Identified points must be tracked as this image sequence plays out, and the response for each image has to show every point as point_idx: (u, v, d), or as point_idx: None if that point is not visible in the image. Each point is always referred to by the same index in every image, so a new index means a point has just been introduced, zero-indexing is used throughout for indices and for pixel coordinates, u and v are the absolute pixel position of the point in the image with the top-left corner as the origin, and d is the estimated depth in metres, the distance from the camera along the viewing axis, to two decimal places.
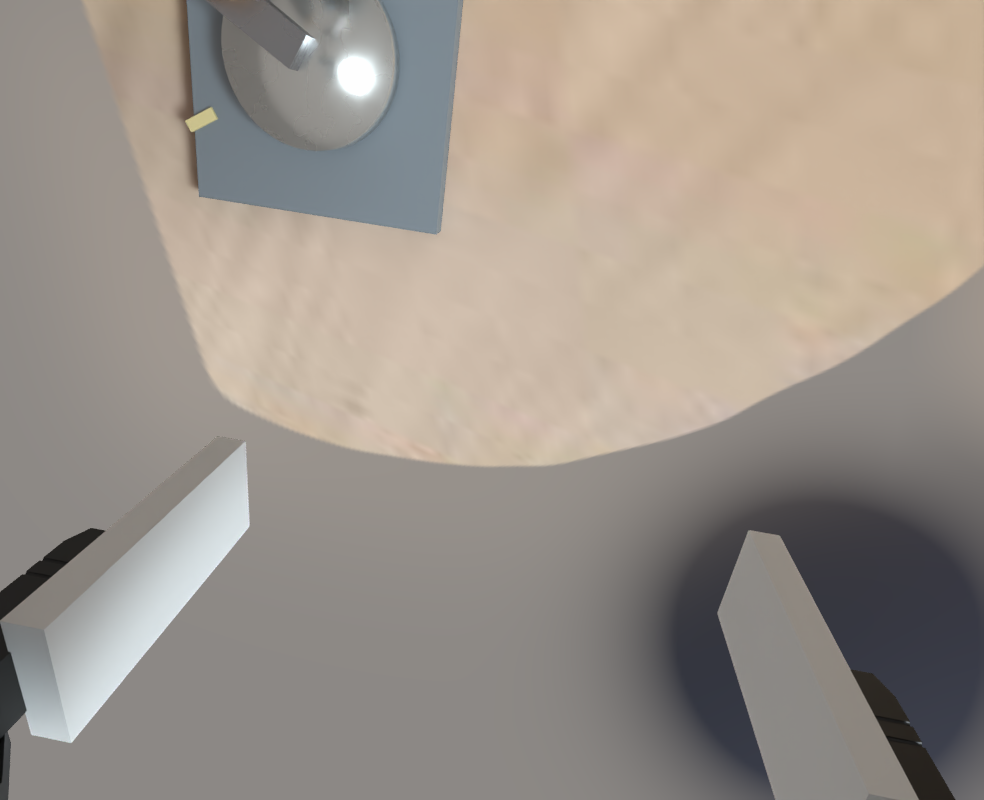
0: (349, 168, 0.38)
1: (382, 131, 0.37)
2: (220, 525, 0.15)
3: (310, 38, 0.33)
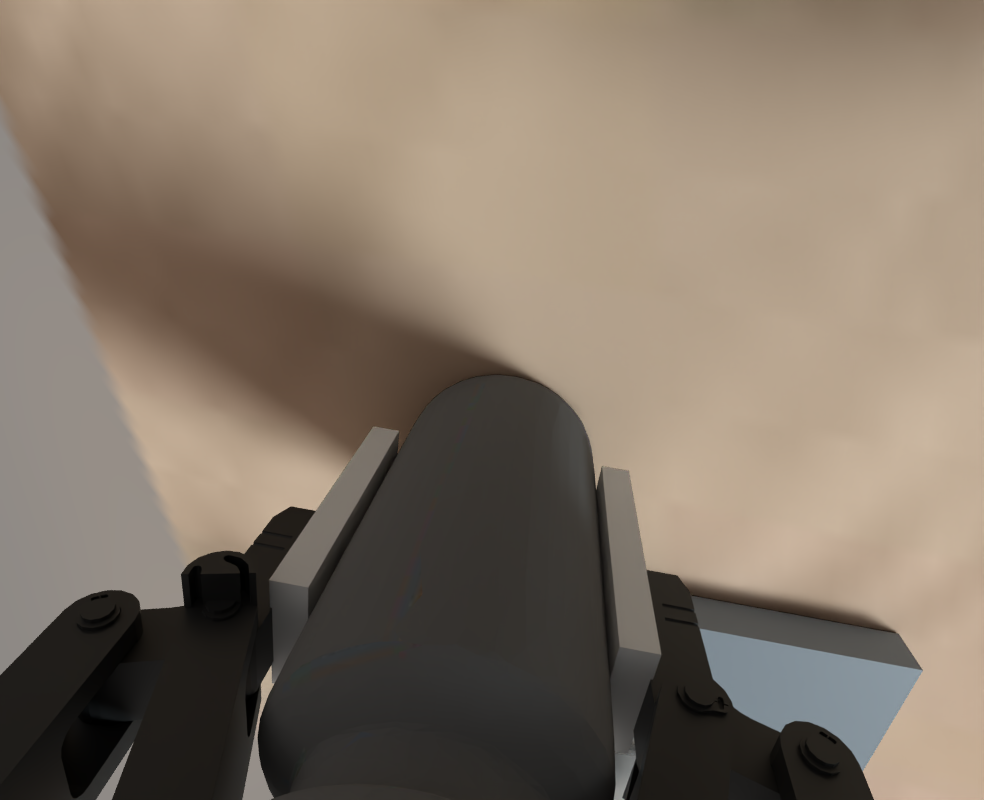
0: None
1: None
2: None
3: None
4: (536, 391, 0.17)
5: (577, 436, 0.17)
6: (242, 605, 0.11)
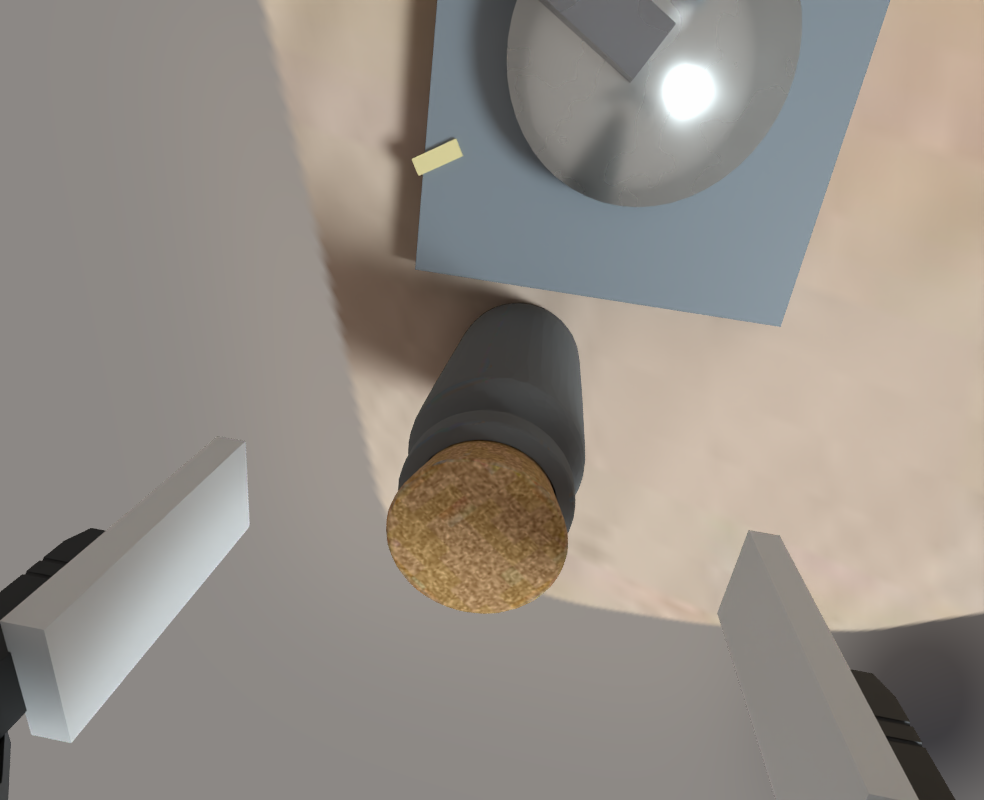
0: (660, 229, 0.25)
1: None
2: (220, 525, 0.15)
3: None
4: (543, 311, 0.27)
5: (568, 337, 0.27)
6: None
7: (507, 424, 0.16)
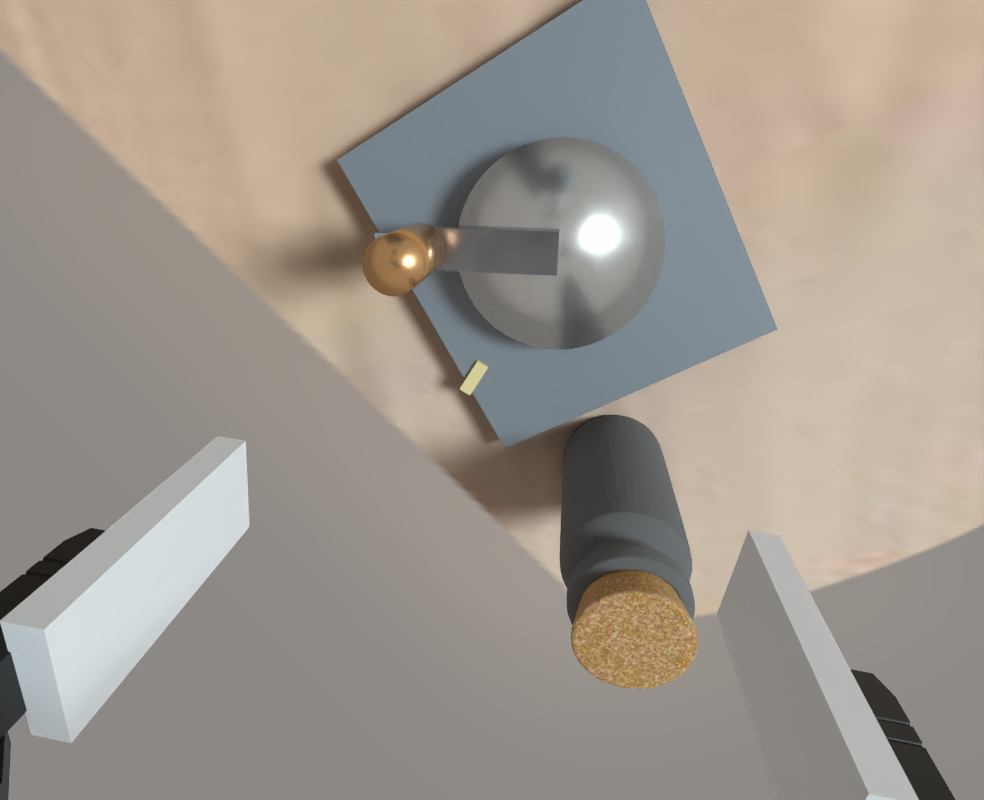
0: (643, 326, 0.32)
1: None
2: (220, 525, 0.15)
3: (559, 232, 0.28)
4: (604, 420, 0.35)
5: (632, 428, 0.34)
6: None
7: (610, 557, 0.24)
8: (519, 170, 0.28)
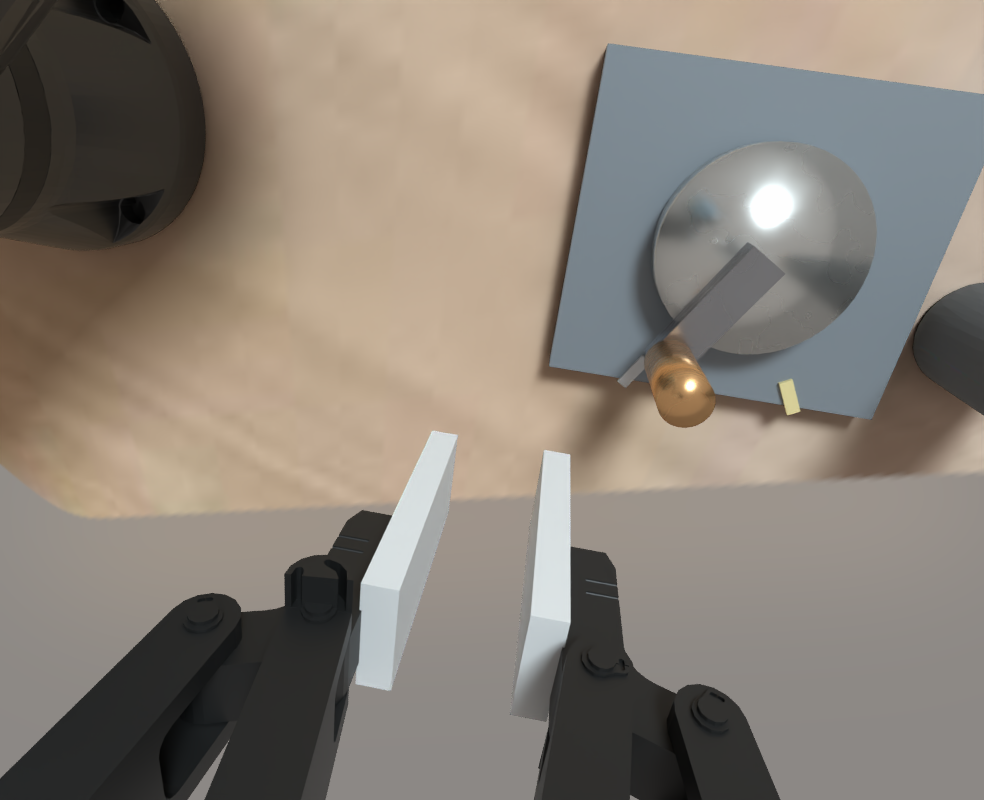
0: (885, 224, 0.29)
1: None
2: (442, 510, 0.17)
3: (751, 245, 0.28)
4: (932, 318, 0.31)
5: (969, 300, 0.30)
6: (337, 610, 0.11)
7: None
8: (676, 241, 0.29)
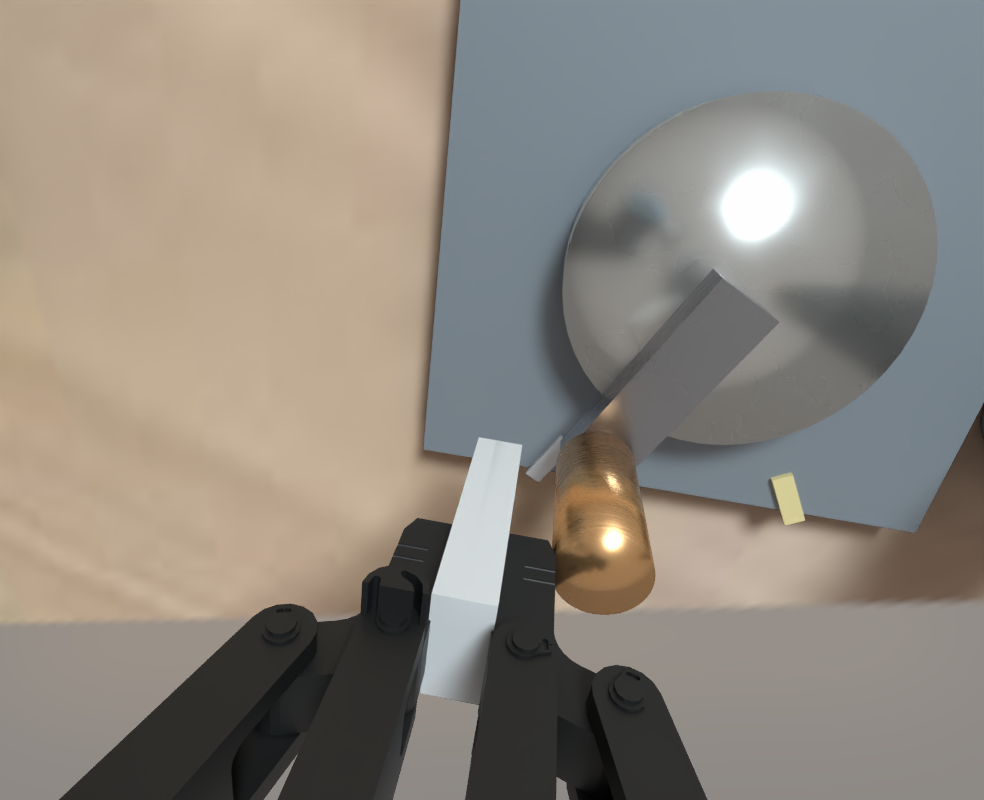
0: (948, 233, 0.17)
1: None
2: None
3: (719, 274, 0.16)
4: None
5: None
6: (411, 623, 0.11)
7: None
8: (595, 272, 0.17)
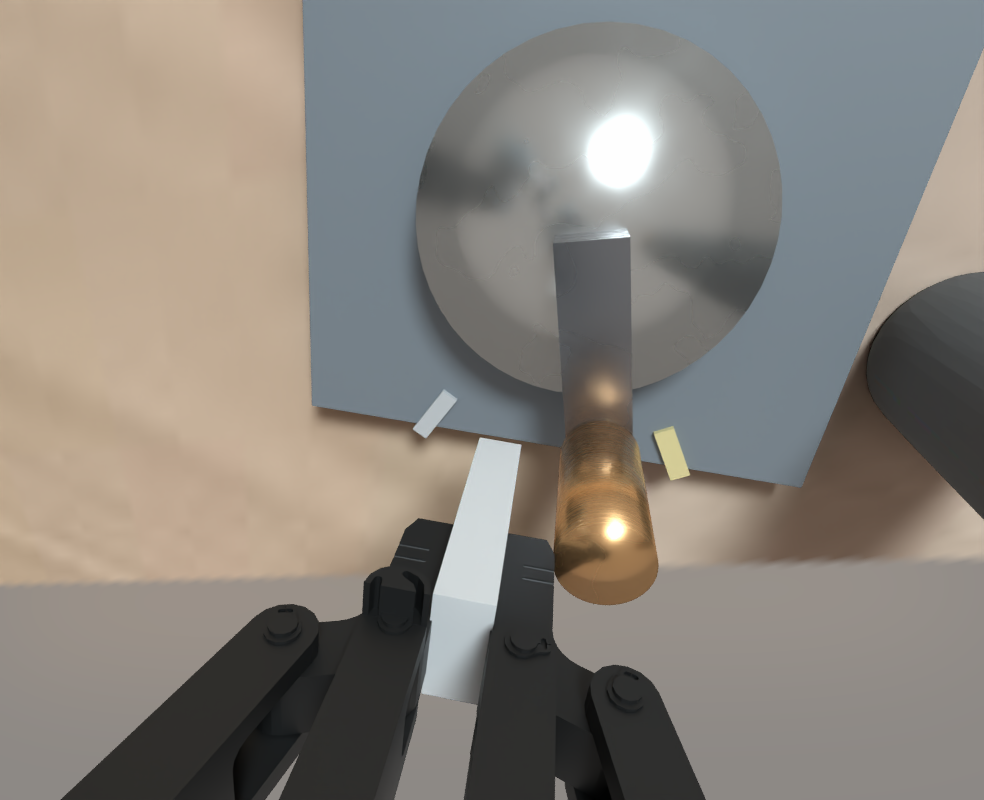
0: (807, 174, 0.17)
1: (742, 84, 0.16)
2: None
3: (556, 238, 0.16)
4: (893, 331, 0.19)
5: (950, 303, 0.18)
6: (413, 623, 0.11)
7: None
8: (473, 310, 0.18)
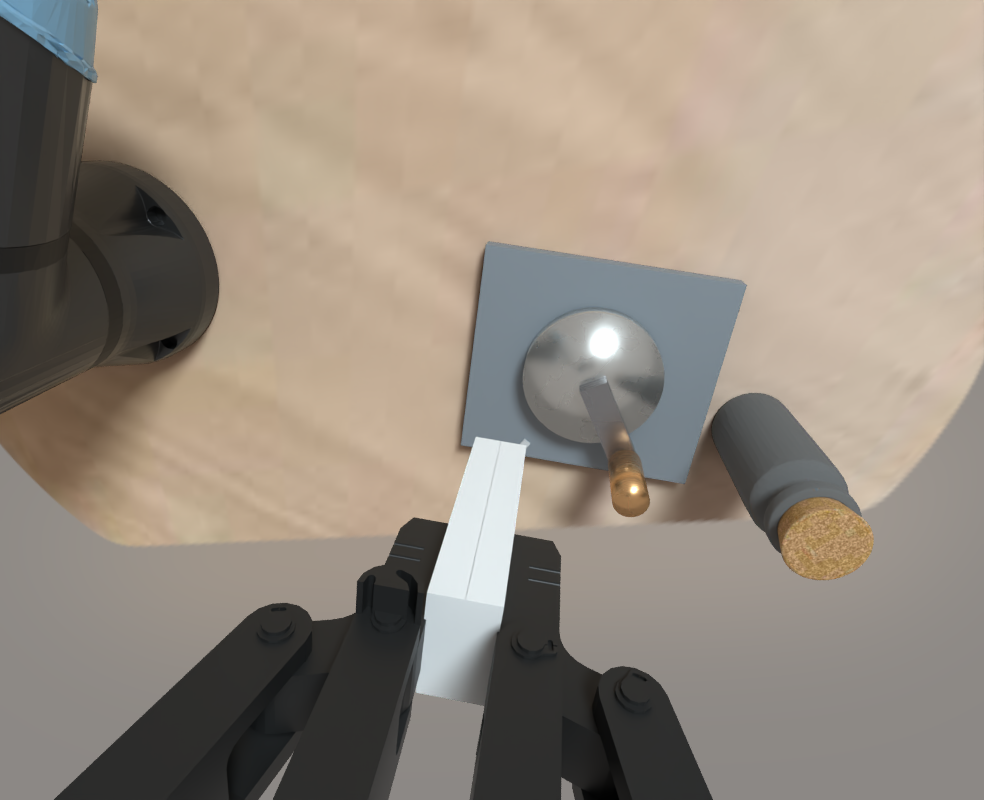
0: (677, 358, 0.43)
1: (650, 326, 0.43)
2: None
3: (580, 388, 0.43)
4: (718, 417, 0.45)
5: (736, 407, 0.44)
6: (406, 621, 0.11)
7: (771, 514, 0.34)
8: (556, 421, 0.44)
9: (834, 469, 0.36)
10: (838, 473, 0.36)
